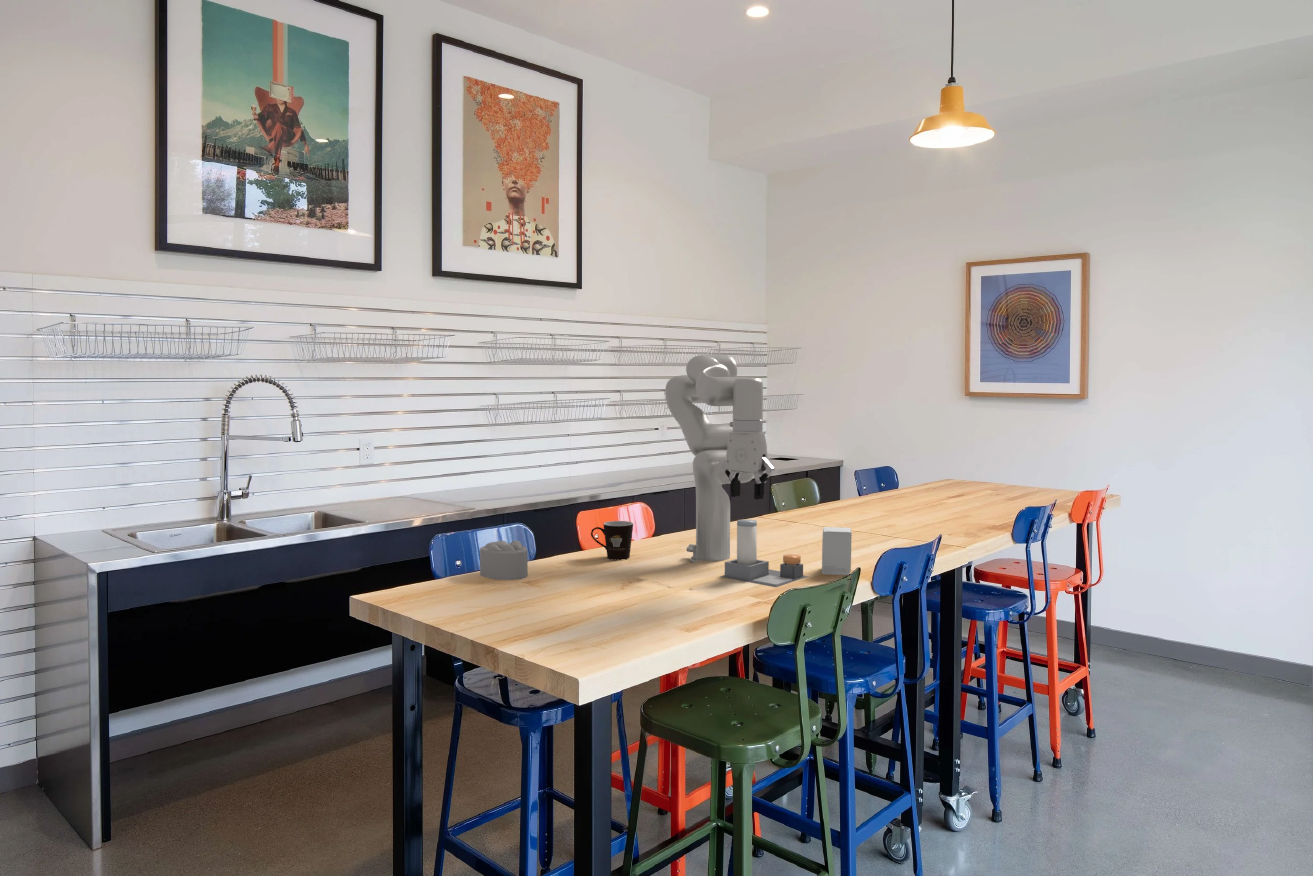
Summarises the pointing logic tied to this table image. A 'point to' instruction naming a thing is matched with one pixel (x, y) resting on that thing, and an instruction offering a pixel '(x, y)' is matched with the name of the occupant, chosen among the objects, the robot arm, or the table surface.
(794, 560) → the glossy orange sphere
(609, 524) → the coffee mug
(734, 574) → the grey compartment tray
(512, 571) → the lumpy-topped squat cylinder
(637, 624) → the table surface
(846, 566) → the supplement box
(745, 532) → the cylinder
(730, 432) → the robot arm
